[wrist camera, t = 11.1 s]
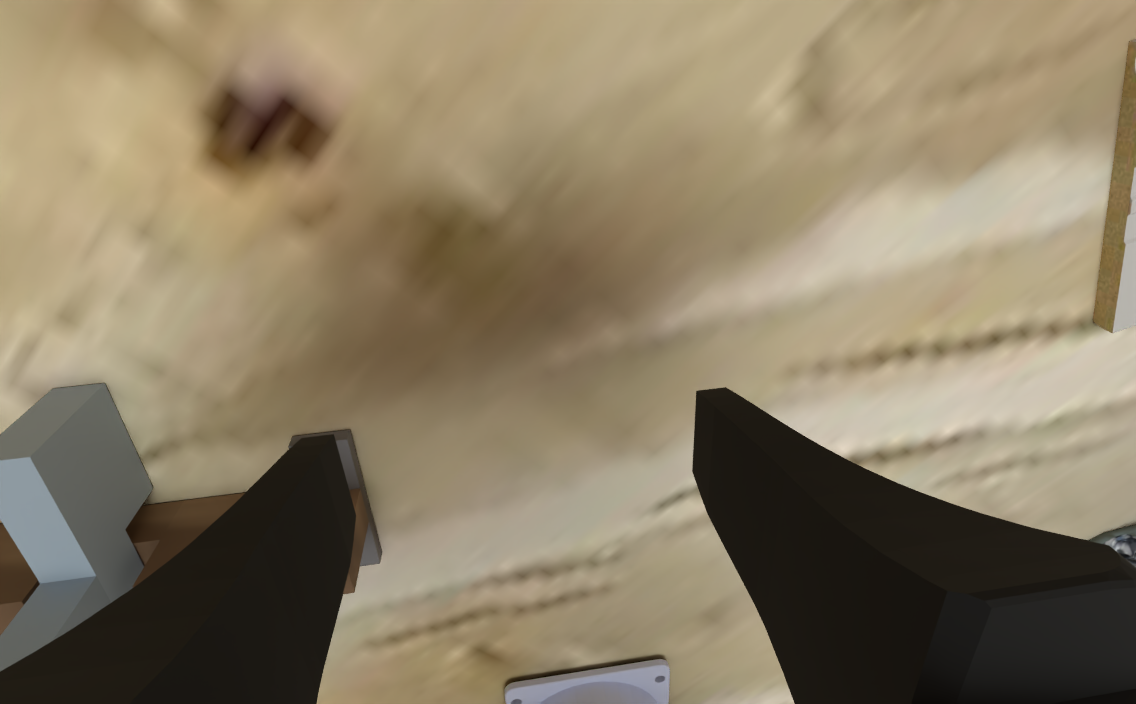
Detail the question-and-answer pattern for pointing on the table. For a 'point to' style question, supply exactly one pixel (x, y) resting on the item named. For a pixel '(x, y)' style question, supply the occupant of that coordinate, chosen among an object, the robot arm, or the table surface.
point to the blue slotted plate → (69, 511)
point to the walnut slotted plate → (191, 534)
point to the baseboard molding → (1121, 219)
